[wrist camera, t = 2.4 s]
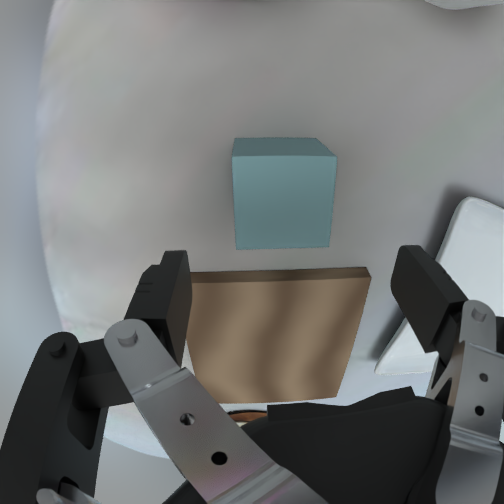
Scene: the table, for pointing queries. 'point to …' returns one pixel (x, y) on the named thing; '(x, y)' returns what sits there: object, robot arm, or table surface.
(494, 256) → the salad plate
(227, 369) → the walnut board
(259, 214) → the slate cube
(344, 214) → the table surface
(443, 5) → the bracket
